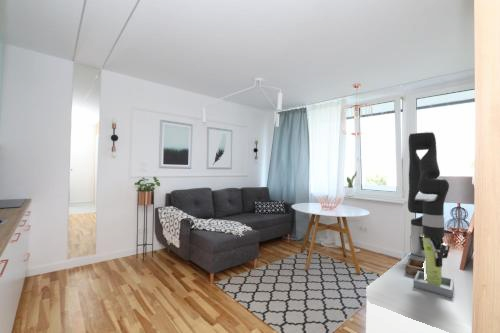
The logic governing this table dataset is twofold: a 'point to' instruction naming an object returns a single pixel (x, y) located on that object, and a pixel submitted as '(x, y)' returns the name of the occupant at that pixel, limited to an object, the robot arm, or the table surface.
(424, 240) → the tube
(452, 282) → the tray
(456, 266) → the table surface
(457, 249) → the table surface
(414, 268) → the wooden picture frame
